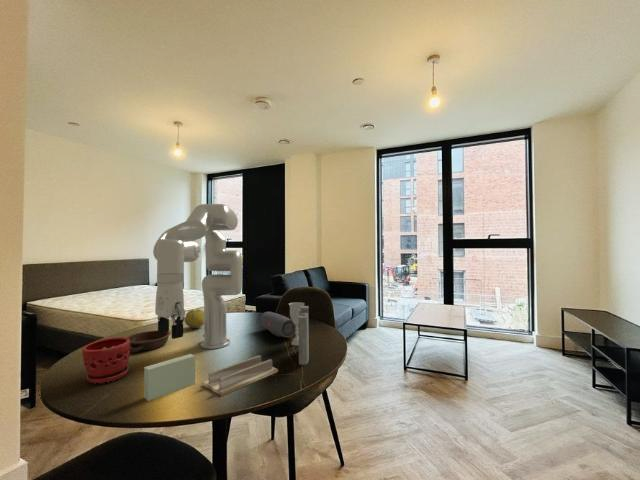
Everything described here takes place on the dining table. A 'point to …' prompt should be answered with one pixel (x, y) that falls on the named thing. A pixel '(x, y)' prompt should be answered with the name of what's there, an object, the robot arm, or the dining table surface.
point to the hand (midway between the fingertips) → (170, 335)
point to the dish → (147, 340)
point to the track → (239, 375)
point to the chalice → (295, 318)
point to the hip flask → (303, 335)
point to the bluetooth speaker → (278, 324)
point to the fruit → (195, 318)
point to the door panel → (168, 376)
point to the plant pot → (106, 359)
